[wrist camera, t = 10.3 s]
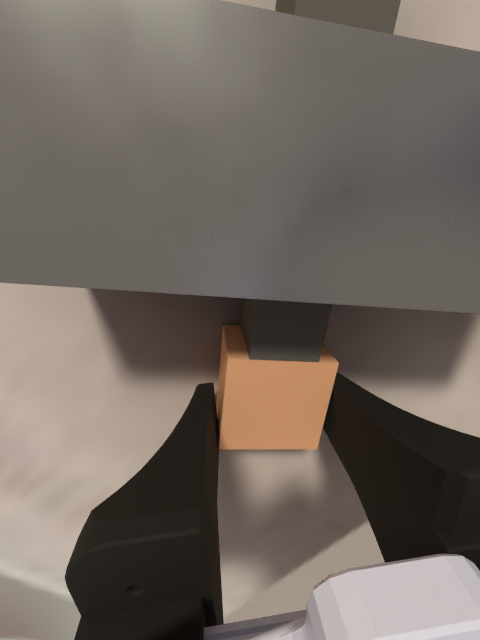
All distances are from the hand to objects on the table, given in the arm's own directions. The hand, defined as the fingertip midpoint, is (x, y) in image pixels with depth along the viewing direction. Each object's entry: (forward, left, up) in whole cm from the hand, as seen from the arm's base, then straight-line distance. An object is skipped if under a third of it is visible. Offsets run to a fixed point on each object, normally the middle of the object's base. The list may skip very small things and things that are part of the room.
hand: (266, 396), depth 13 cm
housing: (0, -8, -1) cm, 8 cm away
